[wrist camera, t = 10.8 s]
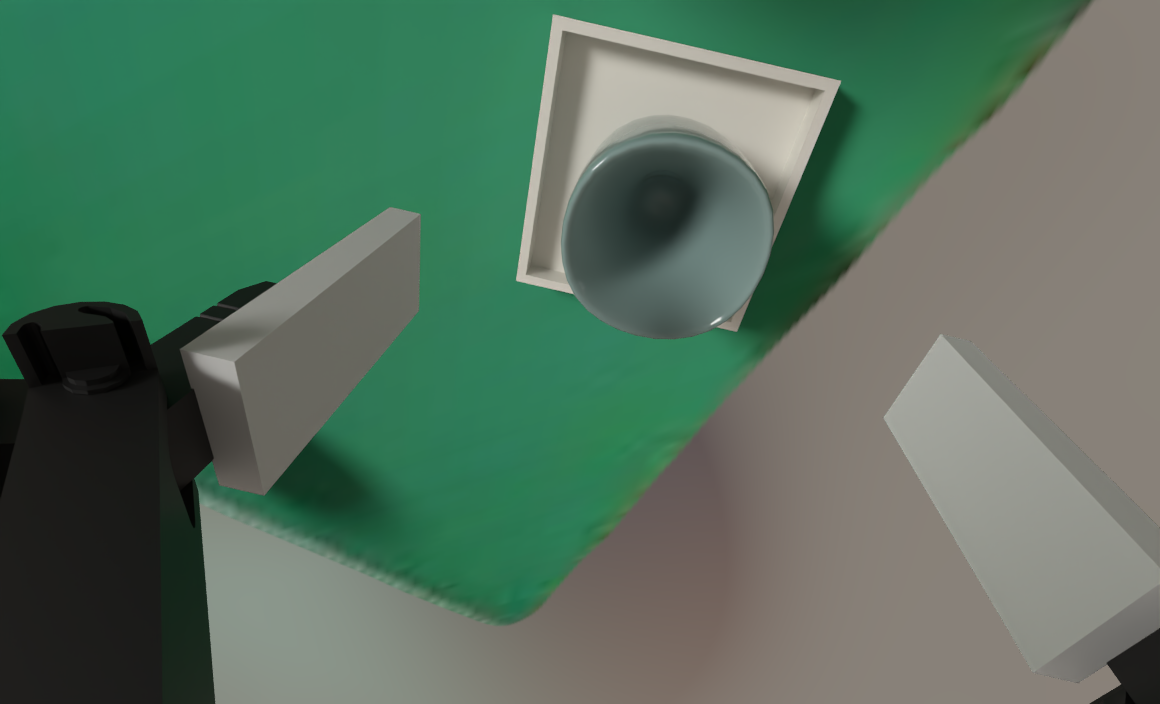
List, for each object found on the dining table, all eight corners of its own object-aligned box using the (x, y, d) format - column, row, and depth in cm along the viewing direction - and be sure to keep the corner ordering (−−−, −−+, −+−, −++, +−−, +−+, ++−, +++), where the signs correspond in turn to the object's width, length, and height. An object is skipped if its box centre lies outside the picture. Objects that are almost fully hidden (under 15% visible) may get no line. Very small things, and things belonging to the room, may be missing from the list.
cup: (760, 125, 25) (816, 168, 17) (706, 269, 29) (727, 362, 21) (606, 85, 25) (583, 108, 16) (574, 235, 29) (541, 315, 21)
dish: (561, 16, 24) (553, 14, 22) (826, 77, 24) (841, 81, 22) (524, 266, 31) (516, 280, 29) (731, 313, 31) (736, 331, 29)
